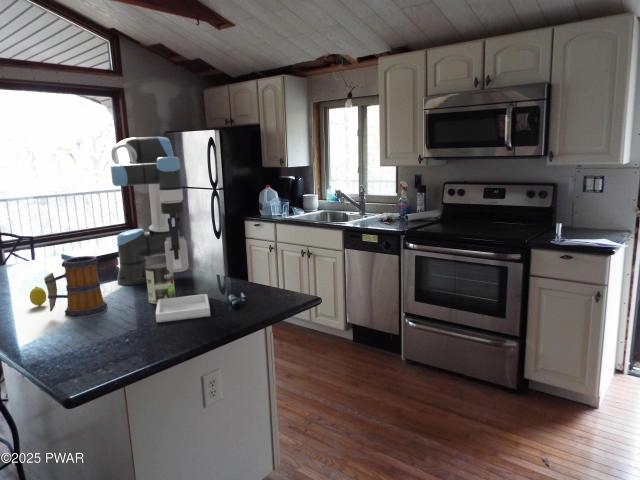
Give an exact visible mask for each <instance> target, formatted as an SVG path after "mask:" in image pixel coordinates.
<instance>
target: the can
mask: <svg viewBox="0 0 640 480" xmlns="http://www.w3.org/2000/svg"><path fill="white" fill-rule="evenodd" d="M178 237H179V247H180V254H181V265H182V268H177V269H174V267H173V257H172V251H170V249H171V247H172V245H171V237H168V238H166V241H165V253H166V255H165V263H166V264H167V269H168V270H169V271H170V272H173V273H181V272H184V271H187V269H188V268H189V267H190V265H189V255H188V254H189V252H188V243H187V240H186V239H185V236H182V235H179V236H178Z"/></svg>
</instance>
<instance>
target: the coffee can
mask: <svg viewBox="0 0 640 480" xmlns="http://www.w3.org/2000/svg"><path fill="white" fill-rule="evenodd" d="M145 269H146V278H147V282H146V285H147V295H148V302H149V303H150V304H153V305H157V302H158V299H166V298H174V297H176V291H175V289H176V288H175V280H174V279H175V277H174V272H170V271H169V270H168V269H167V264H166V262H156V263H150V264H148V265H147V266H145Z"/></svg>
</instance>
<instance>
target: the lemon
mask: <svg viewBox="0 0 640 480" xmlns="http://www.w3.org/2000/svg"><path fill="white" fill-rule="evenodd" d="M29 300H30V303H31V304H33V305H34V306H37V307H41V306H42V305H43V304H44V303H45V302H46V301H47V292H46V291H45V290H44V288H42V287H40V286H39V287H38V286H35V287H33V289H31V290H30V293H29Z"/></svg>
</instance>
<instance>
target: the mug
mask: <svg viewBox="0 0 640 480" xmlns="http://www.w3.org/2000/svg"><path fill="white" fill-rule="evenodd" d="M99 261H100V260H99V258H97V256H93V255H84V256H83V255H82V256H75V257H70V258H66V259H65V260H63V261H62V263H61V267H62V268H64V270H65V271H64V272H65V273H64V274H61V275H58V276H54V272H50V273H49V274H47V275H46V276H45V277H44V284H45V285H46V289H47V293H48V295H47V299H48V302H49V312H52V311H53V310H54V308H55V305H56V302H57V299H67V307H66V308H65V310H64V313H65V314H64V316H65V317H66V318H69V319H85V318H91V317H94V316H99V315H101V314H103V313H105V312H107V311H108V309H109V308H108V307H109V306H108V304H107V302H106V301H104V298H103V294H102V290H101V281H100V279H99V274H98V266H97V264H98V262H99ZM64 278H65V279H66V286H65V288H66V293H67V294H58V285H57V281H59V280H61V279H64Z"/></svg>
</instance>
